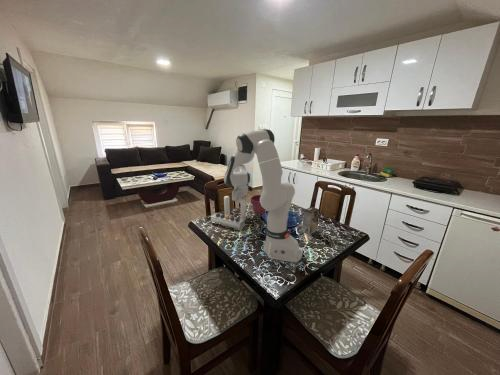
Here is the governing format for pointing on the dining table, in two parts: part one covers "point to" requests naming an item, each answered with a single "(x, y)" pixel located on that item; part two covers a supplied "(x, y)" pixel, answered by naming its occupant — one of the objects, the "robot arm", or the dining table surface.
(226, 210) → the cord post far
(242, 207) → the cord post near
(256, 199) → the plant pot
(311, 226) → the coffee box
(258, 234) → the dining table surface
